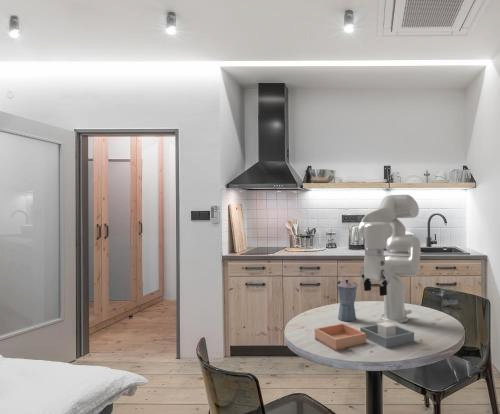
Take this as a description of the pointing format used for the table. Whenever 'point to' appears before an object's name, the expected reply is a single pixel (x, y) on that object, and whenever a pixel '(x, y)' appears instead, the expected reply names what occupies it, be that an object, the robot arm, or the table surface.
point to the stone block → (386, 329)
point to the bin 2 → (400, 338)
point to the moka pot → (346, 301)
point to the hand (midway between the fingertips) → (375, 292)
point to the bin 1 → (339, 336)
